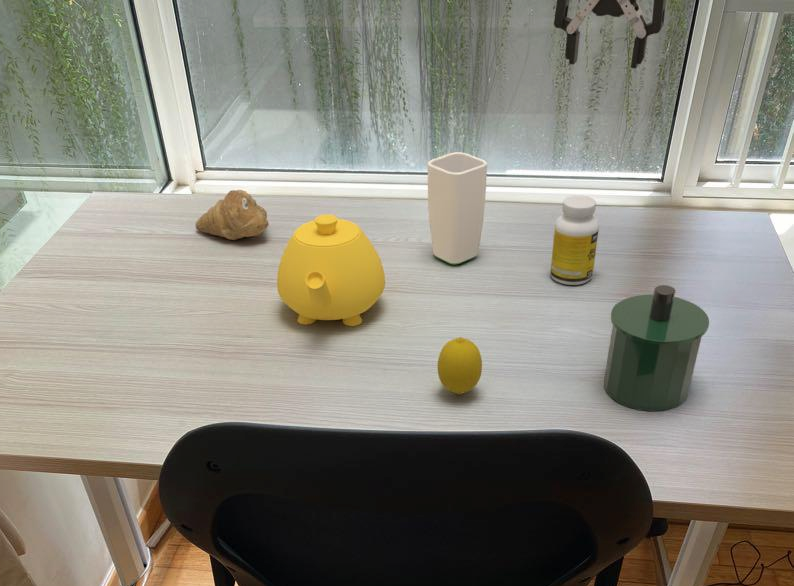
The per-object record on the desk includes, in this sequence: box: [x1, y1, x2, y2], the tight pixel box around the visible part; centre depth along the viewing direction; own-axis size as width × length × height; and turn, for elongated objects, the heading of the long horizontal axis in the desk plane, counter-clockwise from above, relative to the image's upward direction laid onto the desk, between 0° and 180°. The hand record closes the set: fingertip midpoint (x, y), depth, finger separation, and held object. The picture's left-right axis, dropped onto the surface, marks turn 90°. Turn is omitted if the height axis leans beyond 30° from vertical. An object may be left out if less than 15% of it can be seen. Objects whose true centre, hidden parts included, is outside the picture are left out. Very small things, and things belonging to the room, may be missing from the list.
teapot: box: [276, 213, 386, 327], centre depth 123 cm, size 20×16×14 cm
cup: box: [427, 151, 488, 266], centre depth 135 cm, size 7×7×15 cm
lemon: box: [437, 336, 483, 395], centre depth 109 cm, size 6×6×8 cm
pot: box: [603, 325, 703, 412], centre depth 108 cm, size 10×10×10 cm
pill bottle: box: [549, 195, 600, 286], centre depth 130 cm, size 6×6×12 cm
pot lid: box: [610, 284, 710, 345], centre depth 104 cm, size 11×11×5 cm
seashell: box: [195, 189, 270, 241], centre depth 147 cm, size 14×8×8 cm
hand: (603, 65), depth 121 cm, fingers open, 8 cm apart
